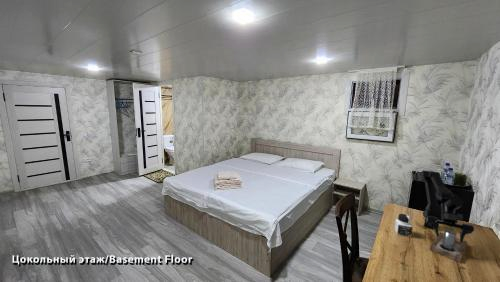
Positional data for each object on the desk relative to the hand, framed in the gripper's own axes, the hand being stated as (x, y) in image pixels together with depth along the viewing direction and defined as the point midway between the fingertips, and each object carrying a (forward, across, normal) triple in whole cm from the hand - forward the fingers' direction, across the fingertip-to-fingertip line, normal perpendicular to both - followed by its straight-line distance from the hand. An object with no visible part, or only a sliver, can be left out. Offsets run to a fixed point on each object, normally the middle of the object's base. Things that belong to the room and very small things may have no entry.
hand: (449, 239), depth 112 cm
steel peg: (+5, 0, +6) cm, 8 cm away
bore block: (+1, +2, +10) cm, 11 cm away
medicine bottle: (-1, -20, +12) cm, 23 cm away
